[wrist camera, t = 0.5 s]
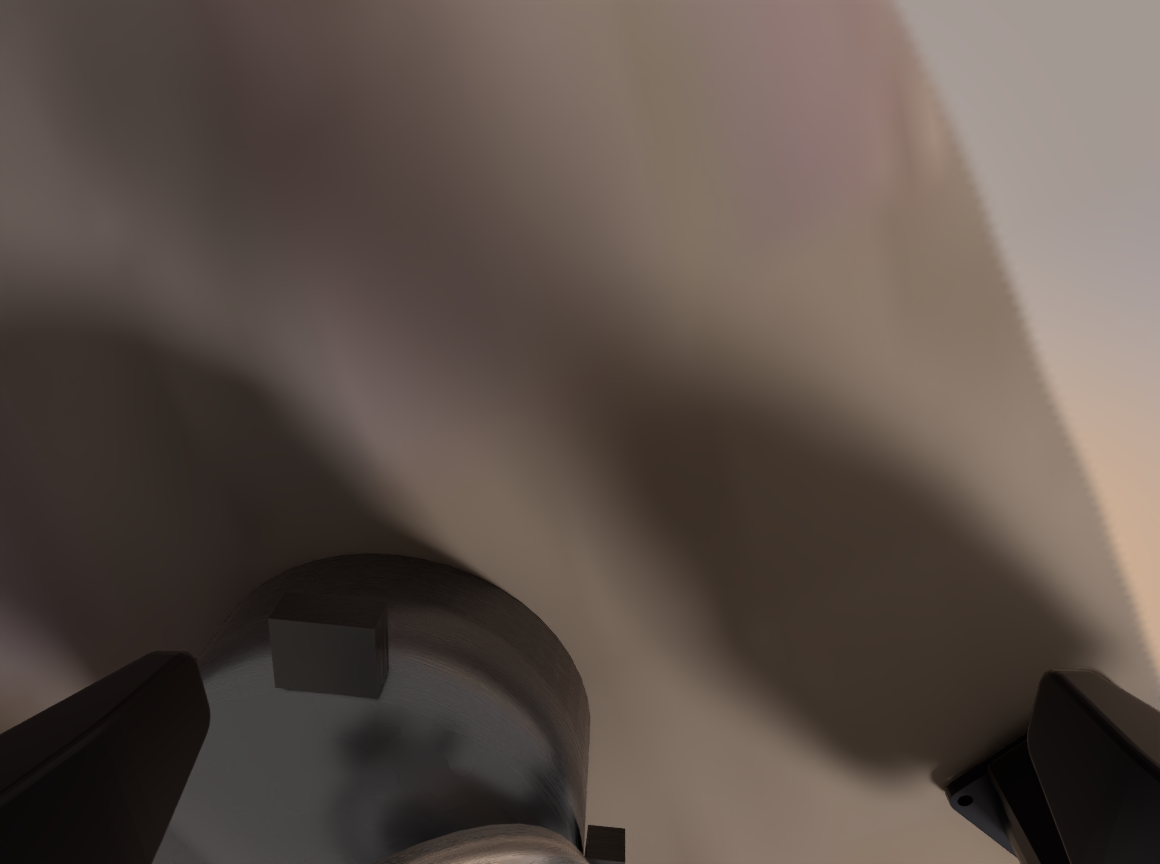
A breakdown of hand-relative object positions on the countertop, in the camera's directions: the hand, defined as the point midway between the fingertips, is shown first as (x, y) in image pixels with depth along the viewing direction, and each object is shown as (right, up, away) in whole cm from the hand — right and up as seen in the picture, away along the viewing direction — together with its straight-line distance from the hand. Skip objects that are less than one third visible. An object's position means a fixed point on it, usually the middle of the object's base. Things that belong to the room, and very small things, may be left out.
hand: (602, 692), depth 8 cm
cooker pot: (-6, -7, +18) cm, 20 cm away
